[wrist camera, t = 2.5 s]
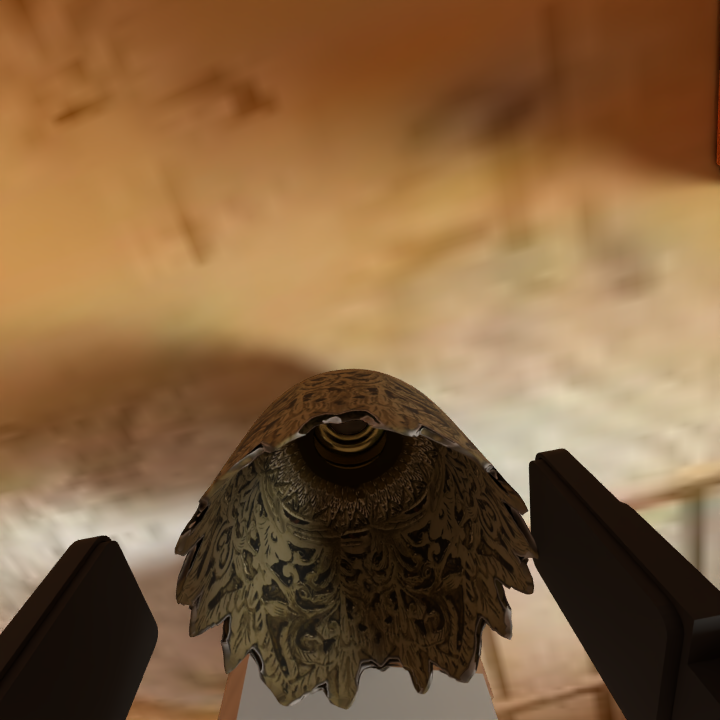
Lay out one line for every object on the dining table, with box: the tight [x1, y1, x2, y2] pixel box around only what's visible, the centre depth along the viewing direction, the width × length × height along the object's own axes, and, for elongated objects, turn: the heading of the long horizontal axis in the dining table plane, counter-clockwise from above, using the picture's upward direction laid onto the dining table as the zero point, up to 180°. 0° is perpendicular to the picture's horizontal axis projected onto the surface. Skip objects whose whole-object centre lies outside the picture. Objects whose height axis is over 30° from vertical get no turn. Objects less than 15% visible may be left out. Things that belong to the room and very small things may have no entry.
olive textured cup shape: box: [175, 369, 539, 710], centre depth 12 cm, size 8×7×8 cm
